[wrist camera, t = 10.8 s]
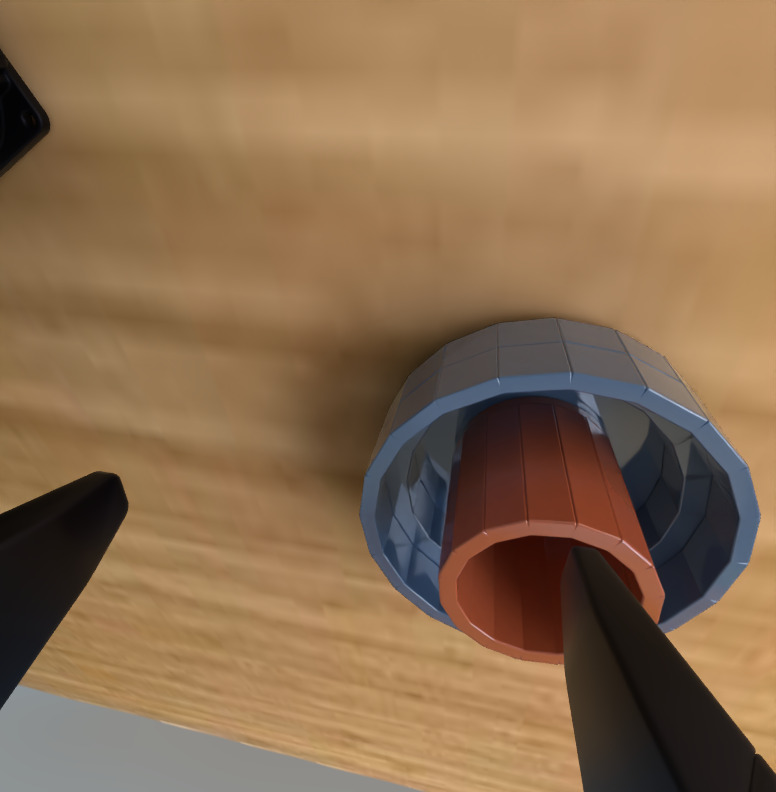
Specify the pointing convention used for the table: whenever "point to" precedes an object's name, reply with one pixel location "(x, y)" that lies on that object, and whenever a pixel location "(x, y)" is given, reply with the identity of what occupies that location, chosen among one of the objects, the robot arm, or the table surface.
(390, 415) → the bowl
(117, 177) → the table surface
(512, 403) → the pot
